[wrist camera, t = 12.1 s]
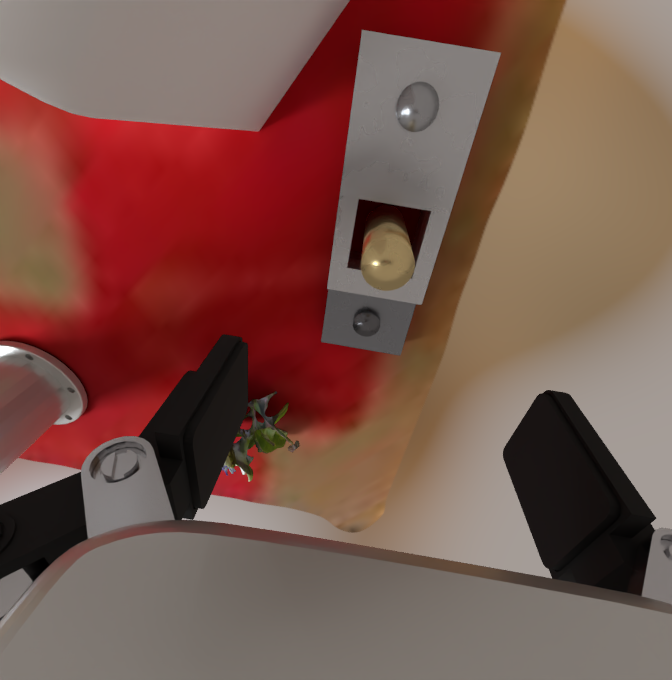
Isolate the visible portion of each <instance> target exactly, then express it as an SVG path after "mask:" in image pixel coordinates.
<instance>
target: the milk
mask: <svg viewBox="0 0 672 680" xmlns="http://www.w3.org/2000/svg"><path fill="white" fill-rule="evenodd" d="M349 1H350V0H0V79H1V80H3V81H5V82H7V83H9V84H10V85H12V86H14V87H16V88H18V89H20V90H22V91H24V92H26V93H28V94H29V95H31V96H33V97H35V98H37V99H39V100H41V101H43V102H45V103H47V104H50V105H52V106H55V107H57V108H60V109H62V110H65V111H67V112H70V113H72V114H77V115H82V116H86V117H91V118H100V119H113V120H125V121H137V122H149V123H161V124H174V125H186V126H198V127H210V128H223V129H235V130H247V131H260V129H261V128H262V126H263V125H264V123H265V122H266V121H267V119H268V118H269V116H270V115H271V113H272V112H273V110H274V109H275V108H276V106H277V105H278V103H279V102H280V100H281V99H282V97H283V96H284V95H285V93H286V92H287V90H288V89H289V87H290V86H291V85H292V83H293V82H294V80H295V79H296V77H297V76H298V74H299V73H300V72H301V70H302V69H303V67H304V66H305V64H306V63H307V61H308V60H309V59H310V57H311V56H312V54H313V53H314V51H315V50H316V48H317V47H318V46H319V44H320V43H321V41H322V40H323V38H324V37H325V36H326V34H327V33H328V31H329V30H330V28H331V27H332V25H333V24H334V23H335V21H336V20H337V18H338V17H339V15H340V14H341V12H342V11H343V10H344V8H345V7H346V5H347V4H348V2H349Z"/></svg>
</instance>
